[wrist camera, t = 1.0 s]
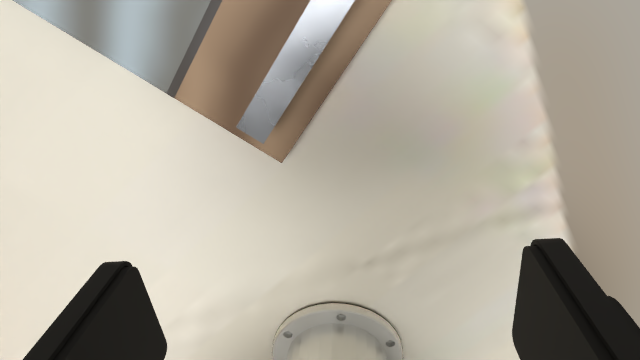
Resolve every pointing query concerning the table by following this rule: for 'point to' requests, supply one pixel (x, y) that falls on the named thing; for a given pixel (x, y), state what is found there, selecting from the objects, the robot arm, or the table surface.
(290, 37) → the lock bar
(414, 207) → the table surface
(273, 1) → the plate
